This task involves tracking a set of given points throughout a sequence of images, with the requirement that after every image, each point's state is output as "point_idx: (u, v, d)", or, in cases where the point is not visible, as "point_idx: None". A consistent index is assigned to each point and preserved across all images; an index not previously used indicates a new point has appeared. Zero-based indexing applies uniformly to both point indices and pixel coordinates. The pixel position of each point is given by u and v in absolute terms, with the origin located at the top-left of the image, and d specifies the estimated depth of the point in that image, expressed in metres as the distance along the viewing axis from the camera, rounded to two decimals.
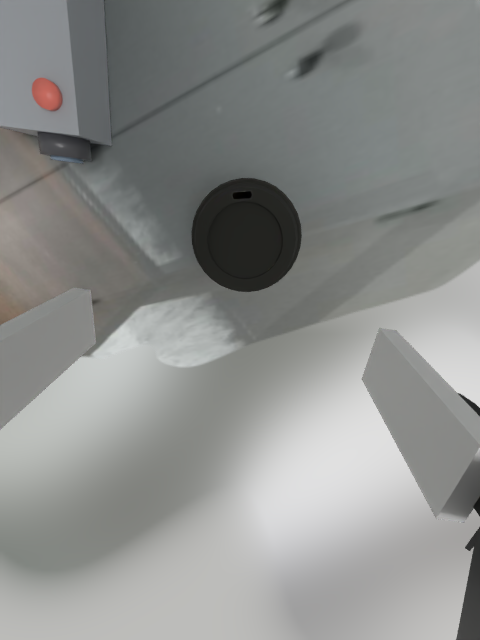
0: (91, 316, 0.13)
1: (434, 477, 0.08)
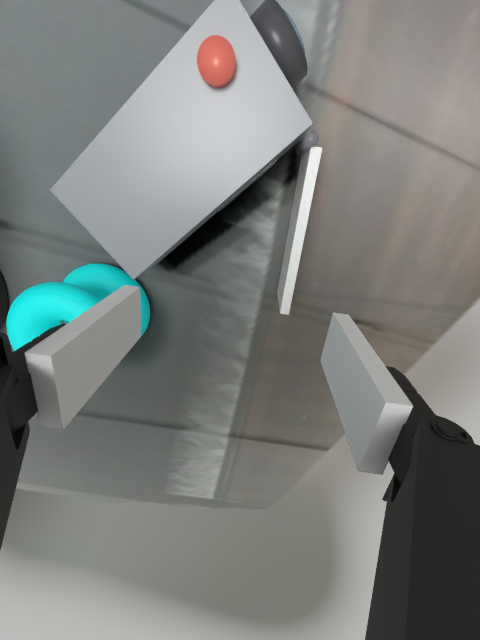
0: (139, 311, 0.14)
1: (359, 436, 0.09)
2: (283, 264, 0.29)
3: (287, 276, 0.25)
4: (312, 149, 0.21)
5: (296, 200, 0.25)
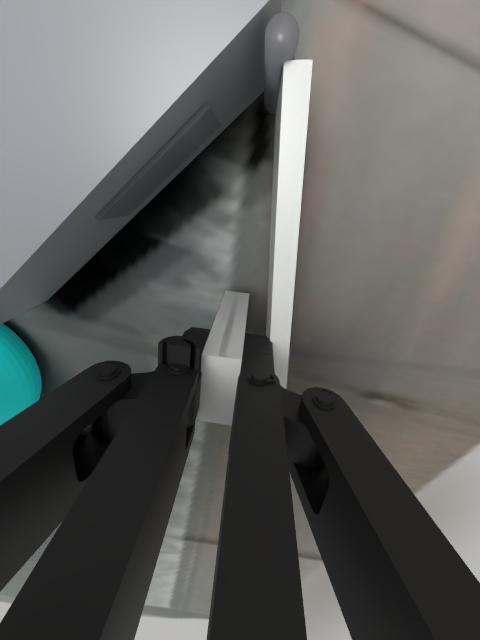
0: None
1: None
2: (267, 314, 0.16)
3: None
4: (288, 68, 0.08)
5: (273, 198, 0.13)
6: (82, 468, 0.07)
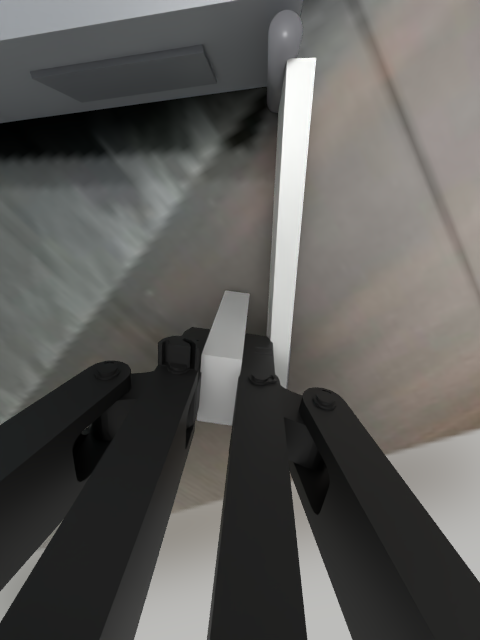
0: None
1: None
2: (268, 313, 0.16)
3: None
4: (291, 66, 0.08)
5: (275, 197, 0.12)
6: (82, 468, 0.07)
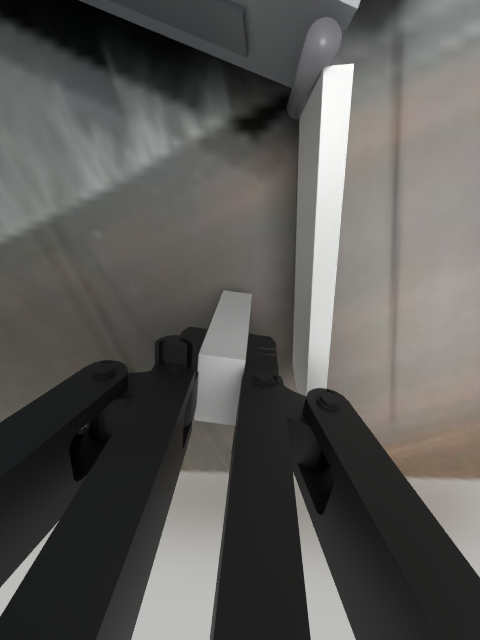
0: None
1: None
2: (296, 323, 0.16)
3: (309, 366, 0.12)
4: (328, 74, 0.08)
5: (303, 206, 0.12)
6: (79, 467, 0.07)
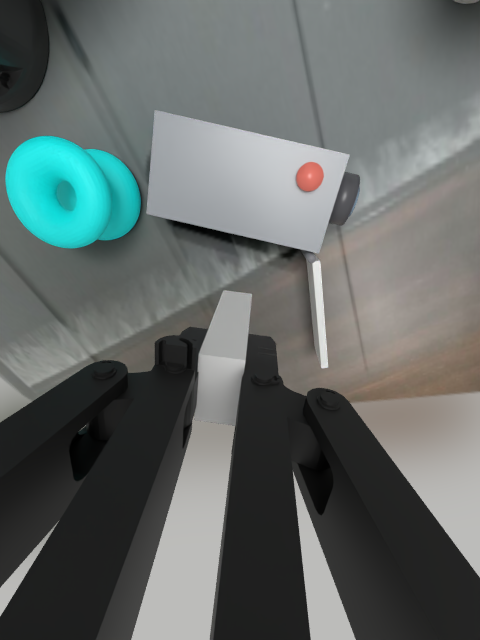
0: None
1: None
2: (313, 328, 0.38)
3: (319, 342, 0.34)
4: (313, 263, 0.31)
5: (311, 287, 0.35)
6: (79, 467, 0.07)
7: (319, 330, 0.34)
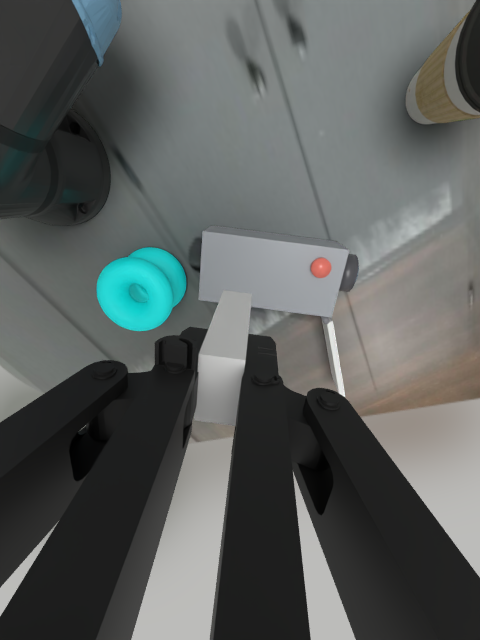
0: None
1: None
2: (330, 363, 0.48)
3: (337, 379, 0.44)
4: (328, 323, 0.40)
5: (326, 335, 0.44)
6: (79, 468, 0.07)
7: (336, 370, 0.43)
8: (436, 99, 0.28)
